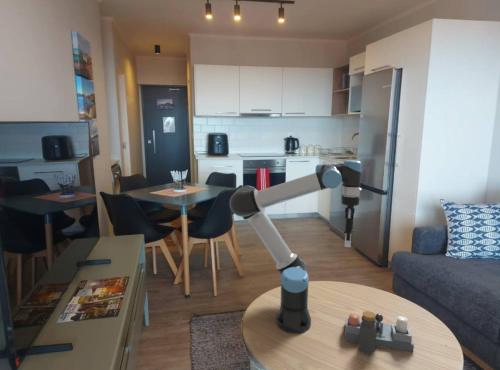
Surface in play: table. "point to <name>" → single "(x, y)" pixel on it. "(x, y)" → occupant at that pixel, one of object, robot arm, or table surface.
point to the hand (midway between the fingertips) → (347, 246)
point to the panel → (382, 336)
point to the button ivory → (401, 324)
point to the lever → (378, 320)
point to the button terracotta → (354, 320)
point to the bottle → (367, 333)
